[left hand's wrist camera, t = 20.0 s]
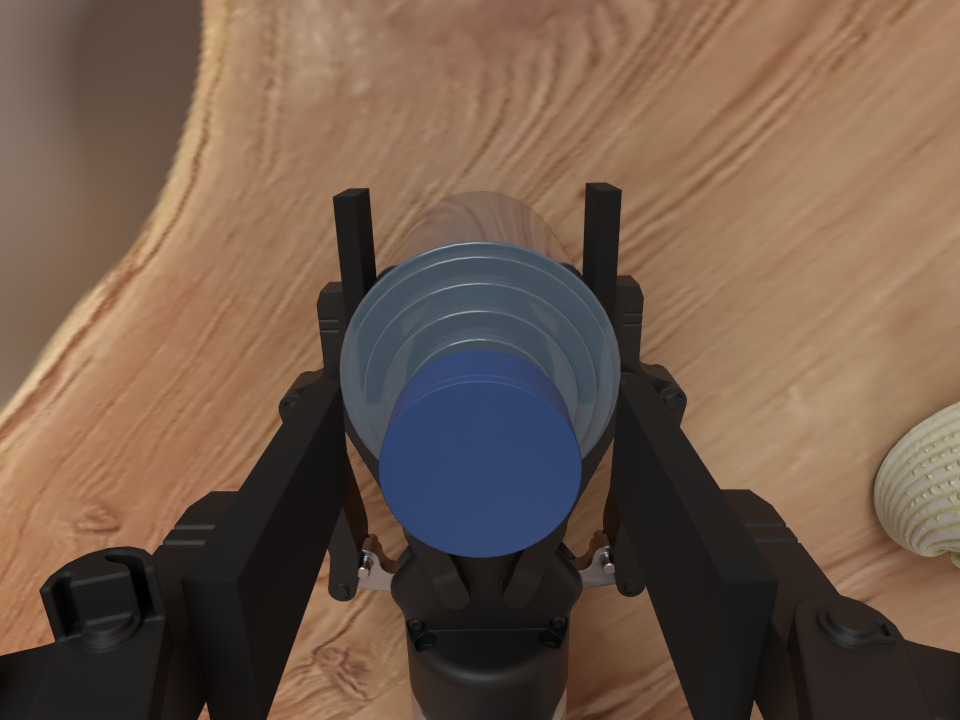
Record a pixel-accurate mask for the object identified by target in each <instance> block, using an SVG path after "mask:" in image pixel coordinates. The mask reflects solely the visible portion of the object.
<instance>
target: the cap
mask: <svg viewBox="0 0 960 720" xmlns="http://www.w3.org/2000/svg"><path fill="white" fill-rule="evenodd" d="M378 471H379V482H380V486H381V490H382V493H383V496H384V499H385V501H386V503H387V505H388V507H389V509H390V510H391V512H392V514H393V515H394V516H395V518H396V519H397V520H398V522H399V523H400V524H401V525H402V526H403V527H404V528H405V529H406V530H407V531H408V532H409V533H411V534H412V535H413V536H414V537H416V538H417V539H419V540H420V541H422V542H424V543H425V544H427V545H429V546H431V547H433V548H435V549H438V550H440V551H443V552H446V553H450V554H454V555H459V556H464V557H474V558H485V557H496V556H502V555H507V554H511V553H514V552H517V551H520V550H523V549H525V548H527V547H529V546H532V545H534V544H536V543H537V542H539V541H540V540H542V539H543V538H545V537H546V536H547V535H549V534H550V533H551V532H552V531H554V530H555V529H556V528H557V527H558V526H559V524H560V523H561V522H562V521H563V520H564V519H565V517H566V516H567V515H568V513H569V512H570V510H571V508H572V506H573V504H574V502H575V500H576V498H577V495H578V492H579V489H580V484H581V479H582V459H581V453H580V449H579V445H578V441H577V438H576V435H575V432H574V428H573V425H572V422H571V418H570V415H569V412H568V409H567V406H566V404H565V401H564V399H563V397H562V395H561V393H560V392H559V390H558V388H557V387H556V386H555V384H554V383H553V382H552V381H551V379H550V378H549V377H547V376H546V375H545V374H544V373H543V372H542V371H541V370H539V369H538V368H537V367H535V366H534V365H532V364H531V363H529V362H527V361H525V360H523V359H521V358H519V357H516V356H513V355H511V354H507V353H503V352H499V351H491V350H469V351H462V352H457V353H454V354H450V355H447V356H444V357H442V358H439V359H437V360H435V361H434V362H432V363H430V364H428V365H427V366H425V367H424V368H423V369H421V370H420V371H419V372H417V373H416V374H415V375H414V376H413V377H412V378H411V379H410V380H409V381H408V383H407V384H406V385H405V387H404V388H403V389H402V391H401V393H400V394H399V396H398V398H397V400H396V402H395V405H394V408H393V410H392V414H391V417H390V420H389V424H388V427H387V430H386V434H385V437H384V440H383V444H382V447H381V452H380V456H379V467H378Z"/></svg>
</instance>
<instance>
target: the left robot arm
mask: <svg viewBox="0 0 960 720" xmlns="http://www.w3.org/2000/svg"><path fill="white" fill-rule="evenodd" d="M349 487H350V482H349V471H348V459H347V448H346V436H345V425H344V414H343V402H342V391H341V384H308V385H307V387H306V388H305V390H304V392H303V393H302V395H301V396H300V398H299V399H298V401H297V402H296V404H295V405H294V407H293V408H292V410H291V411H290V413H289V414H288V416H287V418H286V419H285V421H284V422H283V424H282V425H281V427H280V428H279V430H278V431H277V433H276V434H275V436H274V437H273V439H272V440H271V442H270V444H269V445H268V447H267V448H266V450H265V451H264V453H263V454H262V456H261V457H260V459H259V460H258V462H257V463H256V465H255V467H254V468H253V470H252V471H251V473H250V474H249V476H248V477H247V479H246V480H245V482H244V483H243V485H242V486H241V488H240V489H239V491H211V492H210V493H208V494H207V495H206V496H204V497H203V498H201V499H200V500H198V501H197V502H195V503H194V504H193V505H191V506H190V507H188V509H187V510H186V511H185V513H184V514H183V515H182V516H181V518H180V519H179V520H178V522H177V523H176V524H175V526H174V530H171V531H170V532H169V534H168V535H167V536H166V538H165V539H164V540H163V545H160V546H159V547H158V548H157V550H156V551H155V552H154V554H153V555H150V554H149V553H148V552H147V551H145V550H144V549H140V548H135V547H130V546H126V547H114V548H107V549H103V550H100V551H96V552H92V553H89V554H86V555H84V556H82V557H80V558H78V559H76V560H74V561H72V562H69V563H67V564H66V565H64V566H63V567H62V568H60V569H59V570H58V571H56V572H55V573H54V574H52V575H51V576H50V577H49V578H48V579H47V581H46V582H45V583H44V585H43V586H42V587H41V589H40V590H39V591H40V594H41V597H42V601H43V604H44V607H45V610H46V613H47V616H48V619H49V623H50V626H51V629H52V632H53V635H54V638H55V643H51V644H48V645H45V646H41V647H37V648H32V649H28V650H24V651H19V652H15V653H11V654H6V655H2V656H0V720H198V717H199V715H200V713H201V711H202V709H203V707H204V705H205V703H206V702H207V707H208V712H209V716H210V720H266V719H267V716H268V714H269V711H270V708H271V705H272V702H273V700H274V697H275V694H276V691H277V688H278V686H279V683H280V680H281V677H282V674H283V672H284V669H285V666H286V663H287V660H288V658H289V655H290V652H291V649H292V646H293V644H294V641H295V638H296V635H297V632H298V630H299V627H300V624H301V621H302V618H303V616H304V613H305V610H306V607H307V604H308V602H309V599H310V596H311V593H312V590H313V588H314V585H315V582H316V579H317V576H318V574H319V571H320V568H321V565H322V562H323V560H324V557H325V554H326V551H327V548H328V546H329V543H330V540H331V537H332V534H333V532H334V529H335V526H336V523H337V520H338V518H339V515H340V512H341V509H342V506H343V504H344V501H345V498H346V495H347V492H348V490H349ZM610 487H611V490H612V492H613V495H614V498H615V501H616V504H617V506H618V509H619V512H620V515H621V518H622V520H623V523H624V526H625V529H626V532H627V534H628V537H629V540H630V543H631V546H632V548H633V551H634V554H635V557H636V560H637V562H638V565H639V568H640V571H641V574H642V576H643V579H644V582H645V585H646V588H647V590H648V593H649V596H650V599H651V602H652V604H653V607H654V610H655V613H656V616H657V618H658V621H659V624H660V627H661V630H662V632H663V635H664V638H665V641H666V644H667V646H668V649H669V652H670V655H671V658H672V660H673V663H674V666H675V669H676V672H677V674H678V677H679V680H680V683H681V686H682V688H683V691H684V694H685V697H686V700H687V702H688V705H689V708H690V711H691V714H692V716H693V719H694V720H750V716H751V711H752V707H753V702H754V700H755V702H756V704H757V706H758V708H759V710H760V712H761V714H762V717H763V719H764V720H960V653H956V652H952V651H948V650H943V649H939V648H935V647H930V646H926V645H922V644H918V643H914V642H911V641H908V640H904V638H903V636H902V635H901V633H900V632H899V630H898V629H897V627H896V626H895V625H894V624H893V623H892V622H891V621H890V620H888V619H887V618H886V617H885V616H884V615H883V614H881V613H880V612H879V611H877V610H875V609H873V608H871V607H870V606H868V605H866V604H864V603H862V602H860V601H858V600H854V599H851V598H848V597H845V596H842V595H840V594H839V593H838V592H837V590H836V589H835V588H834V586H833V585H832V584H831V582H830V581H829V580H828V578H827V577H826V576H825V575H824V573H823V572H822V571H821V569H820V568H819V567H818V565H817V564H816V563H815V561H814V560H813V559H812V557H811V556H810V555H809V553H808V552H807V551H806V550H805V548H804V547H803V546H802V544H801V543H798V539H797V538H796V536H795V535H794V534H793V532H792V531H791V530H790V528H786V523H785V522H784V521H783V519H782V518H781V517H780V515H779V514H778V513H777V511H776V510H775V509H774V507H773V506H772V505H771V504H769V503H768V502H766V501H765V500H763V499H762V498H760V497H759V496H758V495H756V494H755V493H753V492H752V491H750V490H721V489H720V488H719V486H718V485H717V483H716V482H715V480H714V479H713V477H712V476H711V474H710V473H709V471H708V470H707V468H706V467H705V465H704V463H703V462H702V460H701V459H700V457H699V456H698V454H697V453H696V451H695V450H694V448H693V447H692V445H691V444H690V442H689V441H688V439H687V437H686V436H685V434H684V433H683V431H682V430H681V428H680V427H679V425H678V424H677V422H676V421H675V419H674V418H673V416H672V414H671V413H670V411H669V410H668V408H667V407H666V405H665V404H664V402H663V401H662V399H661V398H660V396H659V395H658V393H657V392H656V390H655V388H654V387H653V385H652V384H619V391H618V402H617V413H616V425H615V436H614V448H613V459H612V471H611V482H610Z"/></svg>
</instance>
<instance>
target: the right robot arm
mask: <svg viewBox="0 0 960 720" xmlns="http://www.w3.org/2000/svg"><path fill="white" fill-rule="evenodd" d="M621 193H622V190H621V189H618V188H616V187H614V186H612V185H610V184H608V183H586V195H585V222H584V248H583V275H582V277H583V278H584V280H585V281H586V283H587V284H588V286H589V287H590V289H591V290H592V292H593V293H594V295H595V296H596V298H597V299H598V301H599V302H600V304H601V305H602V307H603V308H604V310H605V312H606V314H607V316H608V318H609V320H610V322H611V324H612V327H613V330H614V333H615V336H616V340H617V343H618V349H619V355H620V371H621V378H620V384H652V385H653V387H654V388H655V390H656V392H657V393H658V395H659V396H660V398H661V399H662V401H663V402H664V404H665V405H666V407H667V408H668V410H669V411H670V413H671V414H672V416H673V418H674V419H675V421H676V422H677V424H678V425H679V427H680V424H681V420H682V417H683V414H684V411H685V407H686V403H687V398H686V395H685V393H684V392H683V390H682V389H681V388H680V386H679V385H678V384H677V382H676V381H675V380H674V378H673V377H672V376H671V374H670V373H669V372H668V371H667V369H666V368H665V367H663V366H661V365H658V364H654V365H649V364H645V363H642V362H640V361H639V353H640V340H641V327H642V325H641V323H642V312H643V300H644V297H643V295H642V292H641V289H640V286H639V284H638V283H637V282H636V281H635V280H634V279H633V278H632V277H631V276H630V275H629V276H617V263H618V245H619V228H620V211H621ZM333 204H334V213H335V223H336V232H337V242H338V251H339V261H340V270H341V280H342V282H329V283H328V284H327V285H326V286H325V287H324V288H323V289H322V290H321V292H320V295H319V299H318V302H317V312H318V319H319V328H320V336H321V344H322V353H323V361H324V368H322V369H320V370H317V371H315V372H312V371H308V372H304V373H301V374H300V375H299V376H298V377H297V379H296V380H295V382H294V383H293V384H292V386H291V387H290V389H289V390H288V391H287V393H286V394H285V396H284V397H283V399H282V400H281V401H280V404H279V413H280V416H281V419H282V421H283V422H284V421H285V419H286V418H287V416H288V414H289V413H290V411H291V410H292V408H293V407H294V405H295V404H296V402H297V401H298V399H299V398H300V396H301V395H302V393H303V392H304V390H305V388H306V387H307V385H308V384H341V383H340V360H341V350H342V346H343V342H344V338H345V334H346V331H347V329H348V326H349V324H350V321H351V319H352V317H353V315H354V313H355V311H356V310H357V308H358V306H359V304H360V303H361V301H362V300H363V298H364V297H365V295H366V293H367V292H368V290H369V289H370V287H371V286H372V284H373V283H374V281H375V280H376V278H377V277H376V266H375V254H374V242H373V230H372V218H371V207H370V195H369V188H356V189H347V190H345V191H343V192H341V193H339V194H337V195H336V196H334V197H333ZM341 391H342V390H341ZM342 402H343V414H344V425H345V431H346V433H347V435H348V436H349V438H350V439H351V441H352V443H353V444H354V446H355V448H356V449H357V451H358V452H359V454H360V456H361V457H362V459H363V461H364V462H365V464H366V465H367V467H368V469H369V470H370V472H371V473H372V475H373V477H374V478H375V480H376V482H377V483H378V485H379V486H380V482H379V471H378V467H379V460H378V459H377V458H376V457H375V456H374V455H373V454H372V453H371V451H370V450H369V449H368V448H367V447H366V446H365V444H364V443H363V441H362V440H361V438H360V437H359V435H358V434H357V432H356V430H355V428H354V426H353V424H352V422H351V420H350V418H349V415H348V412H347V410H346V407H345V404H344V400H343V395H342ZM617 402H618V397H617V401H616V405H615V409H614V411H613V414H612V416H611V419H610V421H609V423H608V426H607V427H606V429H605V431H604V432H603V434H602V436H601V437H600V439H599V441H598V442H597V443H596V445H595V446H594V447H593V448H592V450H591V451H590V452H589V454H588V455H587V456H586V457H585V458H584V459H583V460H582V479H581V484H580V489H579V492H578V495H577V498H576V500H575V502H574V504H573V506H572V508H571V510H570V512H569V513H568V515H567V516H566V517H565V519H564V520H563V521H562V522H561V523H560V524H559V526H558V527H557V528H556V529H555V530H554V531H552V532H551V533H550V534H549V535H547V536H546V537H545V538H543V539H542V540H540V541H539V542H537V543H536V544H534V545H532V546H529V547H527V548H525V549H523V550H520V551H517V552H514V553H511V554H507V555H502V556H496V557H485V558H474V557H464V556H459V555H454V554H450V553H446V552H443V551H440V550H438V549H435V548H433V547H431V546H429V545H427V544H425V543H424V542H422V541H420V540H419V539H417V538H416V537H414V536H413V535H412V534H411V533H409V532H408V531H407V530H406V529H405V528H404V527H403V531H404V535H405V538H406V540H407V542H408V543H409V545H408V546H407V548H406V549H405V550H404V552H403V553H402V554H401V555H400V557H399V558H398V559H397V561H394V560H391V559H389V558H387V557H386V556H385V554H384V553H383V549H382V545H381V544H380V542H378V537H377V536H376V535H375V534H368V520H367V515H366V511H365V507H364V504H363V501H362V498H361V495H360V492H359V489H358V486H357V482H356V479H355V476H354V473H353V470H352V467H351V464H350V460H349V457H348V454H347V459H348V471H349V482H350V487H349V490H348V492H347V495H346V498H345V501H344V504H343V506H342V509H341V512H340V515H339V518H338V520H337V523H336V526H335V529H334V532H333V534H332V537H331V540H330V543H329V546H328V551H329V554H330V557H331V559H330V572H329V585H328V590H329V594H330V595H331V597H332V598H334V599H335V600H338V601H348V600H351V599H352V598H353V597H354V596H355V594H356V591H357V588H362V589H371V590H379V591H388V592H391V594H392V597H393V599H394V601H395V602H396V603H397V604H398V606H399V607H400V608H401V610H402V612H403V614H404V617H405V625H406V636H407V648H408V659H409V671H410V682H411V687H412V693H411V697H412V707H413V717H414V720H566V707H567V688H566V683H567V673H568V645H569V619H570V612H571V609H572V607H573V605H574V604H575V602H576V601H577V600H578V598H579V597H580V595H581V592H582V589H586V588H592V587H599V586H605V585H612V584H616V585H617V588H618V591H619V592H620V593H621V594H622V595H624V596H627V597H633V596H637V595H639V594H640V593H642V592H643V590H644V589H645V582H644V579H643V576H642V574H641V571H640V568H639V565H638V562H637V560H636V557H635V554H634V551H633V548H632V546H631V543H630V540H629V537H628V534H627V532H626V529H625V526H624V523H623V520H622V518H621V515H620V512H619V509H618V506H617V504H616V501H615V498H614V495H613V492H612V490H611V487H610V489H609V493H608V497H607V500H606V504H605V509H604V514H603V530H604V531H603V530H598V531H596V532H595V533H594V535H593V536H594V538H593V539H592V540H591V541H590V544H589V549H588V551H587V553H586V554H585V555H583V556H581V557H578V558H576V557H575V556H574V554H573V553H572V552H571V551H570V550H569V549H568V547H567V546H566V545H565V544H564V543H563V542H562V540H563V538H564V536H565V533H566V529H567V522H568V519H569V517H570V515H571V513H572V511H573V510H574V508H575V506H576V504H577V502H578V501H579V499H580V497H581V495H582V493H583V492H584V490H585V488H586V486H587V484H588V483H589V481H590V479H591V477H592V475H593V474H594V472H595V470H596V468H597V467H598V465H599V463H600V461H601V459H602V458H603V456H604V454H605V452H606V450H607V449H608V447H609V445H610V443H611V441H612V440H613V438H614V436H615V425H616V413H617ZM380 488H381V486H380Z"/></svg>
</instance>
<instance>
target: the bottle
mask: <svg viewBox="0 0 960 720" xmlns="http://www.w3.org/2000/svg"><path fill="white" fill-rule="evenodd" d="M469 350H491V351H499V352H503V353H507V354H511V355H513V356H516V357H519V358H521V359H523V360H525V361H527V362H529V363H531V364H532V365H534V366H535V367H537V368H538V369H539V370H541V371H542V372H543V373H544V374H545V375H546V376H547V377H549V378H550V379H551V381H552V382H553V383H554V384H555V386H556V387H557V388H558V390H559V392H560V393H561V395H562V397H563V399H564V401H565V404H566V406H567V409H568V412H569V415H570V418H571V422H572V425H573V428H574V432H575V435H576V438H577V441H578V445H579V449H580V453H581V459H582V460H583V459H584V458H585V457H586V456H587V455H588V454H589V452H590V451H591V450H592V448H593V447H594V446H595V445H596V443H597V442H598V441H599V439H600V437H601V436H602V434H603V432H604V431H605V429H606V427H607V426H608V423H609V421H610V419H611V416H612V414H613V411H614V409H615V405H616V401H617V397H618V391H619V384H620V378H621V371H620V355H619V349H618V343H617V340H616V336H615V333H614V330H613V327H612V324H611V322H610V320H609V318H608V316H607V314H606V312H605V310H604V308H603V307H602V305H601V304H600V302H599V301H598V299H597V298H596V296H595V295H594V293H593V292H592V290H591V289H590V287H589V286H588V284H587V283H586V281H585V280H584V278H583V277H582V275H581V274H580V272H579V270H578V269H577V267H576V266H575V264H574V263H573V261H572V260H571V258H570V257H569V255H568V254H567V252H566V251H565V249H564V248H563V246H562V245H561V243H560V242H559V240H558V239H557V237H556V236H555V234H554V233H553V231H552V230H551V228H550V227H549V225H548V224H547V223H546V222H545V220H544V219H543V218H542V217H541V216H540V215H539V214H538V213H536V212H535V211H534V210H533V209H532V208H530V207H529V206H527V205H526V204H524V203H523V202H521V201H518V200H516V199H514V198H512V197H509V196H506V195H503V194H499V193H493V192H480V191H476V192H466V193H462V194H458V195H454V196H451V197H449V198H446V199H444V200H442V201H440V202H438V203H436V204H434V205H433V206H432V207H430V208H429V209H427V210H426V211H425V212H424V213H423V214H422V215H421V216H420V217H419V218H418V219H417V220H416V221H415V222H414V223H413V225H412V226H411V227H410V228H409V230H408V231H407V233H406V234H405V236H404V237H403V239H402V240H401V242H400V243H399V245H398V247H397V248H396V250H395V251H394V253H393V254H392V256H391V257H390V259H389V260H388V262H387V263H386V265H385V266H384V268H383V269H382V271H381V272H380V274H379V275H378V277H377V278H376V280H375V281H374V283H373V284H372V286H371V287H370V289H369V290H368V292H367V293H366V295H365V297H364V298H363V300H362V301H361V303H360V304H359V306H358V308H357V310H356V311H355V313H354V315H353V317H352V319H351V321H350V324H349V326H348V329H347V331H346V334H345V338H344V342H343V346H342V350H341V360H340V383H341V390H342V395H343V400H344V404H345V407H346V410H347V412H348V415H349V418H350V420H351V422H352V424H353V426H354V428H355V430H356V432H357V434H358V435H359V437H360V438H361V440H362V441H363V443H364V444H365V446H366V447H367V448H368V449H369V450H370V451H371V453H372V454H373V455H374V456H375V457H376V458H377V459H378V460H379V456H380V452H381V447H382V444H383V440H384V437H385V434H386V430H387V427H388V424H389V420H390V417H391V414H392V410H393V408H394V405H395V402H396V400H397V398H398V396H399V394H400V393H401V391H402V389H403V388H404V387H405V385H406V384H407V383H408V381H409V380H410V379H411V378H412V377H413V376H414V375H415V374H416V373H417V372H419V371H420V370H421V369H423V368H424V367H425V366H427V365H428V364H430V363H432V362H434V361H435V360H437V359H439V358H442V357H444V356H447V355H450V354H454V353H457V352H462V351H469Z"/></svg>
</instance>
